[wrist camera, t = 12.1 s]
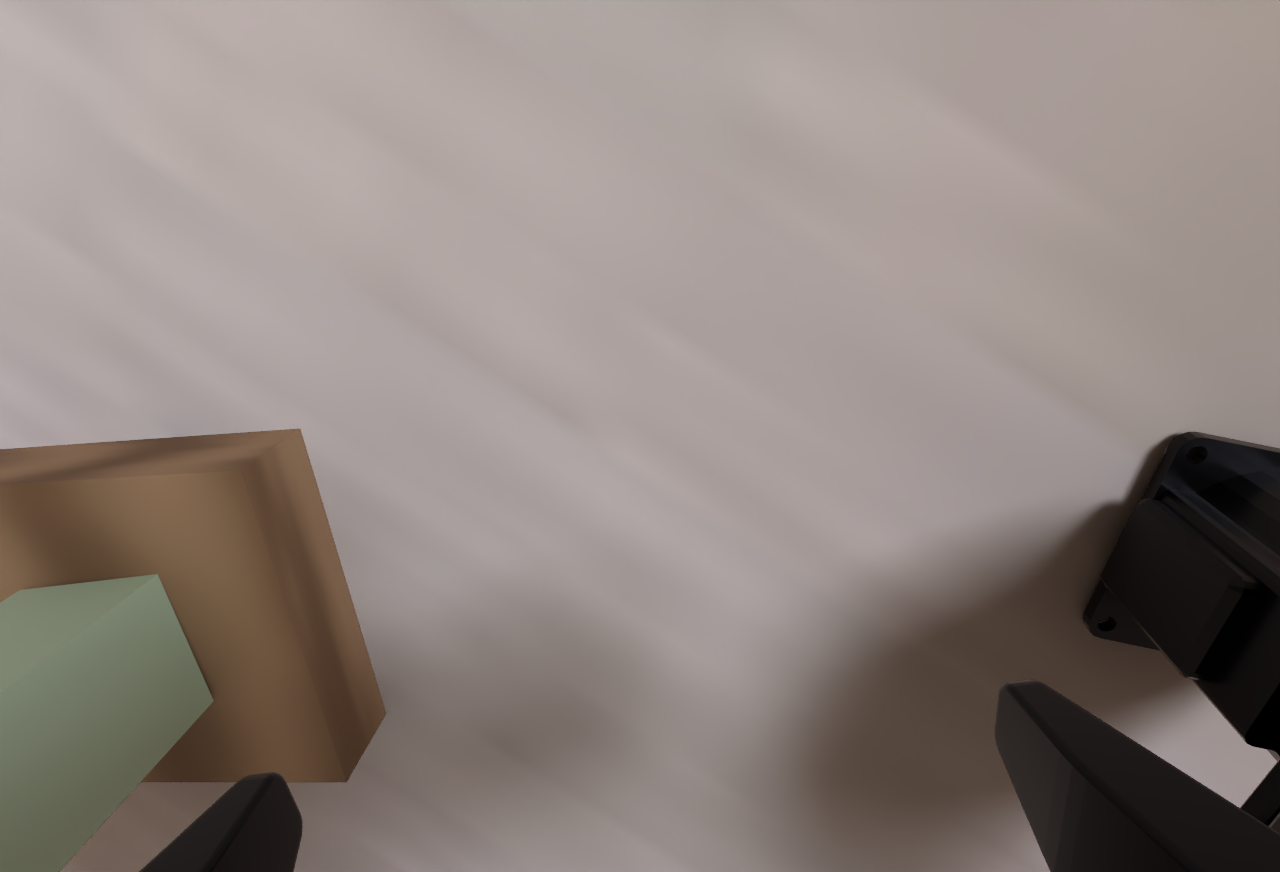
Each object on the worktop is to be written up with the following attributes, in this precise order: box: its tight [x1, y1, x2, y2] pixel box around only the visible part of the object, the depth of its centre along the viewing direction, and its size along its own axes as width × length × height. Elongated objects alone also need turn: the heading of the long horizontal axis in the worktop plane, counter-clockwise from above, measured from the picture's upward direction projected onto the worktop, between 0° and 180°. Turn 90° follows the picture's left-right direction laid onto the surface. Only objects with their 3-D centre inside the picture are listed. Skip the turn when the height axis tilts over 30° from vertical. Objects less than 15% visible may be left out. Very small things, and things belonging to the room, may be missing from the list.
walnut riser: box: [0, 429, 386, 782], centre depth 24 cm, size 11×11×4 cm
